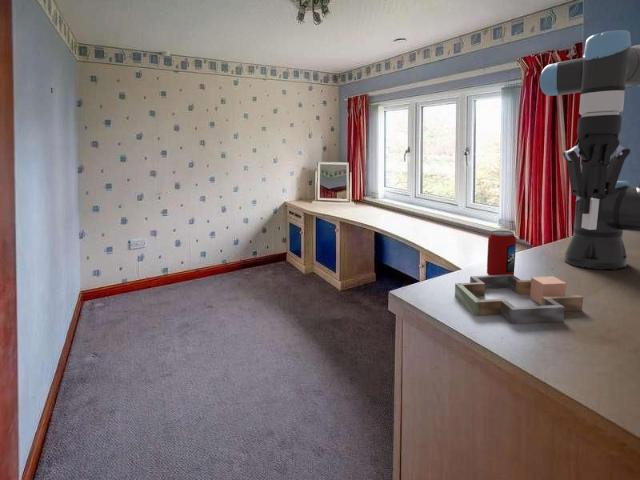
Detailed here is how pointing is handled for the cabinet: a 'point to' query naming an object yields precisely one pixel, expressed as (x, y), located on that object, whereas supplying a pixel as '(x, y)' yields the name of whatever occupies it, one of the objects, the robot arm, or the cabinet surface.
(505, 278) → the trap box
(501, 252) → the beverage can
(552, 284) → the block
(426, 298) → the cabinet surface
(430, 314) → the cabinet surface
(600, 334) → the cabinet surface
